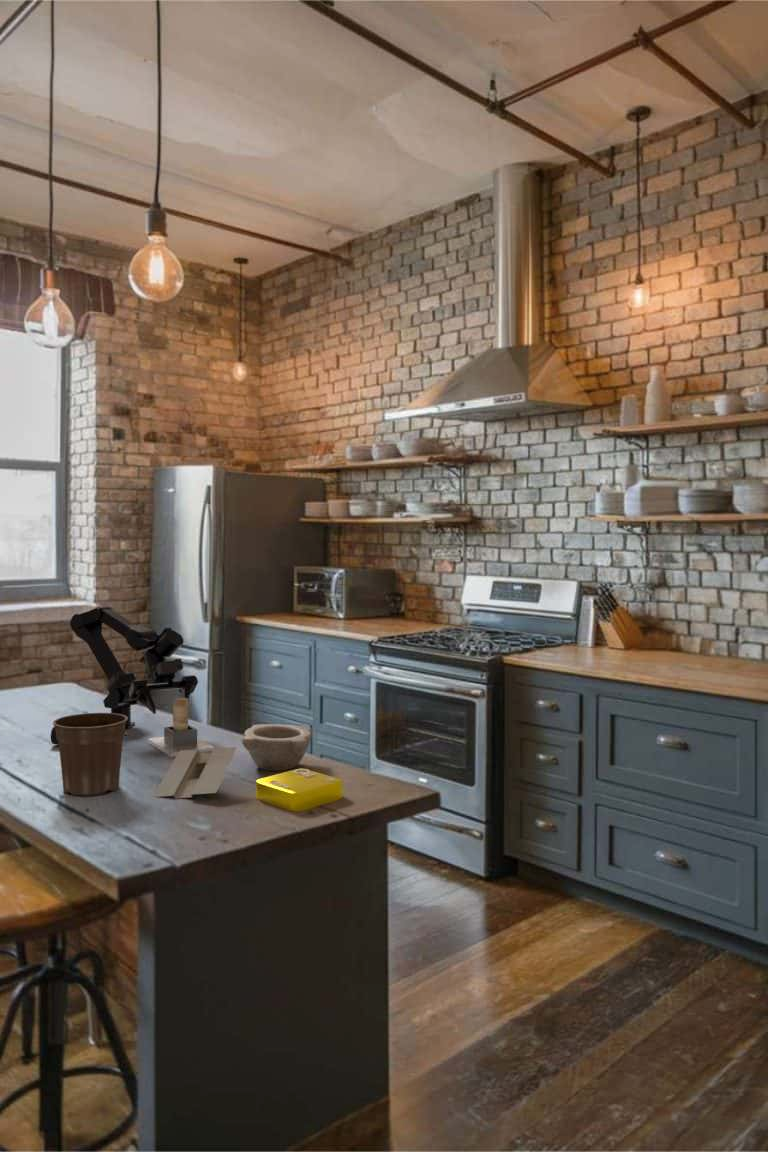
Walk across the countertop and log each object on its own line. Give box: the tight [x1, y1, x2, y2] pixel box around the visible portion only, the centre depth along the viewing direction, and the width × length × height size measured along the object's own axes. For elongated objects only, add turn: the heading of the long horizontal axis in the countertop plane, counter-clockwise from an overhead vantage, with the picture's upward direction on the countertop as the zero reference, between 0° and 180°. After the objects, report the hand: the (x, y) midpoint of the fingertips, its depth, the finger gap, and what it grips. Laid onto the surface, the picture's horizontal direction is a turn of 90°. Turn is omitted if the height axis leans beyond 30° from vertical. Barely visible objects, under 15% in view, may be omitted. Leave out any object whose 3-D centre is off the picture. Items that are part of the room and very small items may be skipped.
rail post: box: [172, 697, 189, 732], centre depth 237 cm, size 4×4×12 cm
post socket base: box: [147, 724, 215, 759], centre depth 237 cm, size 18×12×5 cm, turn 34°
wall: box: [152, 746, 237, 799], centre depth 199 cm, size 16×9×15 cm
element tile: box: [255, 767, 344, 812], centre depth 194 cm, size 15×15×5 cm
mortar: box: [241, 723, 313, 772], centre depth 219 cm, size 17×17×9 cm
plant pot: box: [52, 712, 128, 797], centre depth 198 cm, size 16×16×16 cm
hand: (171, 711), depth 242 cm, fingers open, 9 cm apart
